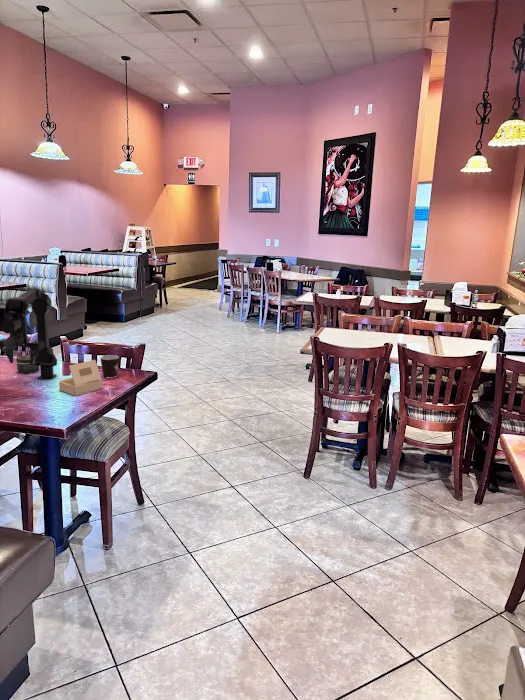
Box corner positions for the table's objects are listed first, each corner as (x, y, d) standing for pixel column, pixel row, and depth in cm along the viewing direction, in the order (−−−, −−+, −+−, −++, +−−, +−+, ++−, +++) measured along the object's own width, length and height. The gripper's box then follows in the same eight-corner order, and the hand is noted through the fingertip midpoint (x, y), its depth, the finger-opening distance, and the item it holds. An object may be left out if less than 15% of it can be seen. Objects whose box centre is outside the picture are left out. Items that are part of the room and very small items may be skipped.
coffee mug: (108, 380, 240) (107, 360, 238) (97, 376, 245) (96, 357, 243) (128, 375, 249) (127, 356, 247) (117, 372, 254) (116, 353, 252)
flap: (75, 385, 217) (68, 365, 217) (100, 378, 227) (94, 359, 227) (75, 385, 216) (69, 365, 216) (101, 378, 227) (95, 359, 227)
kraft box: (58, 390, 224) (57, 381, 223) (86, 382, 236) (86, 374, 235) (74, 396, 217) (74, 387, 216) (103, 388, 229) (103, 379, 228)
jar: (16, 369, 251) (15, 355, 249) (38, 368, 256) (37, 353, 254) (17, 375, 242) (16, 360, 240) (40, 373, 247) (39, 358, 245)
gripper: (-15, 331, 201) (-11, 367, 205) (30, 333, 200) (33, 370, 204) (2, 325, 212) (5, 360, 216) (44, 327, 210) (46, 363, 214)
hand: (22, 363), depth 212 cm, fingers open, 9 cm apart
